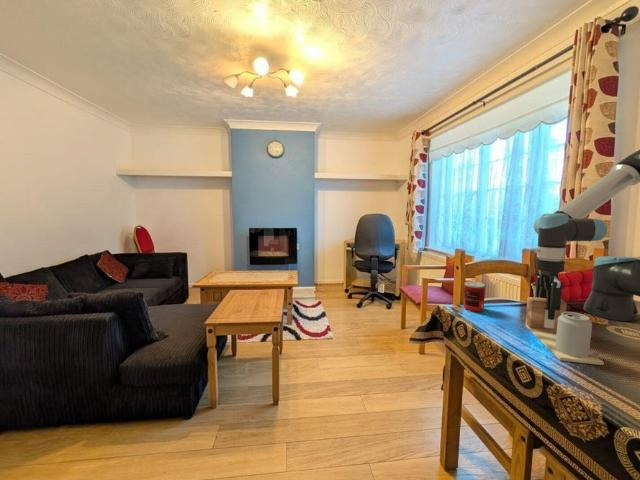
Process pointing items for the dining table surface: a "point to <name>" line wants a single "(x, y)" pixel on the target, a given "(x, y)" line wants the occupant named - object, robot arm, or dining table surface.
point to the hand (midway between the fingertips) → (545, 324)
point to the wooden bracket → (550, 329)
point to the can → (573, 334)
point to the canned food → (474, 296)
